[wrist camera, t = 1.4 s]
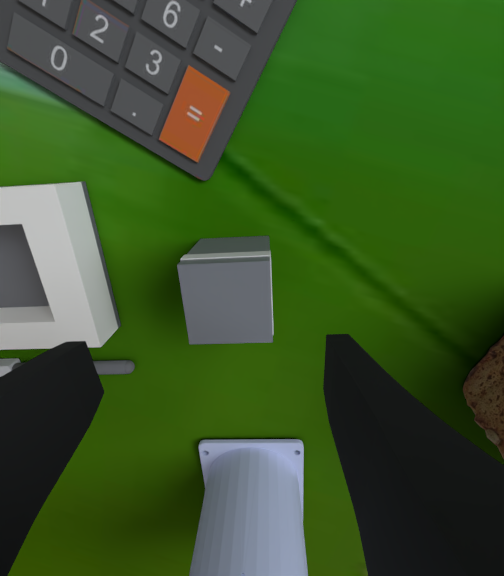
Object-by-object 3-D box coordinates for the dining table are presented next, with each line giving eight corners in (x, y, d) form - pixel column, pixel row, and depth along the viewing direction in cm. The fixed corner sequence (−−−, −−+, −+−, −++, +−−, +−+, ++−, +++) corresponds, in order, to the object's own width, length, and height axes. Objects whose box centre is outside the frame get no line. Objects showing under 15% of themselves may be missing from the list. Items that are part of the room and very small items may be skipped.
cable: (138, 370, 21) (133, 378, 20) (1, 372, 22) (-10, 380, 21) (134, 355, 21) (129, 363, 20) (-6, 359, 21) (-17, 366, 21)
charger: (272, 299, 19) (274, 343, 14) (207, 301, 19) (188, 345, 15) (269, 234, 17) (270, 259, 13) (199, 238, 18) (175, 263, 13)
